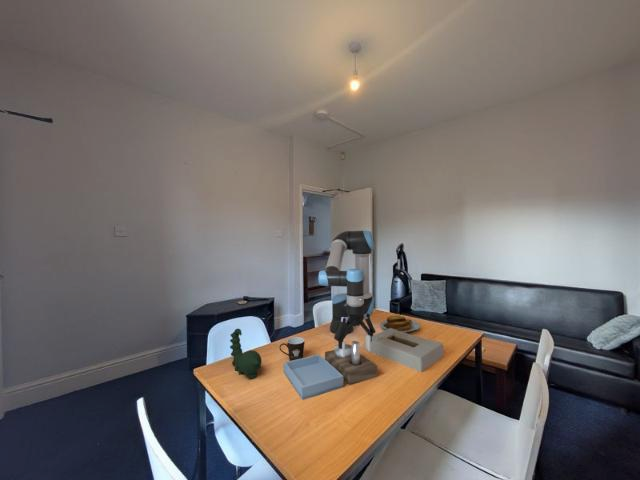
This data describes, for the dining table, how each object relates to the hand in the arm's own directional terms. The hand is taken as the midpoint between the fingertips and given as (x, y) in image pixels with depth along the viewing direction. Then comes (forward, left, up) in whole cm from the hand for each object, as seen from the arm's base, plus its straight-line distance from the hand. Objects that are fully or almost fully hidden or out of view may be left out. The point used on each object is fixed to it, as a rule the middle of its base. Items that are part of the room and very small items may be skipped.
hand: (355, 352), depth 115 cm
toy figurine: (-25, -43, -10) cm, 51 cm away
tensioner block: (-5, 0, -10) cm, 11 cm away
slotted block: (-6, +34, -10) cm, 36 cm away
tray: (-5, -19, -10) cm, 22 cm away
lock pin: (0, 0, -10) cm, 10 cm away
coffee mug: (-25, -20, -10) cm, 34 cm away
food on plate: (-35, +59, -10) cm, 69 cm away
